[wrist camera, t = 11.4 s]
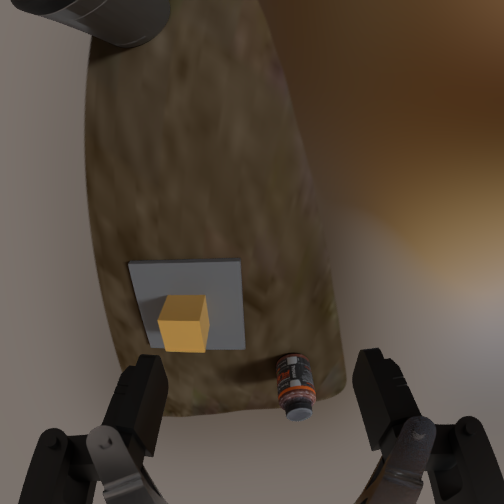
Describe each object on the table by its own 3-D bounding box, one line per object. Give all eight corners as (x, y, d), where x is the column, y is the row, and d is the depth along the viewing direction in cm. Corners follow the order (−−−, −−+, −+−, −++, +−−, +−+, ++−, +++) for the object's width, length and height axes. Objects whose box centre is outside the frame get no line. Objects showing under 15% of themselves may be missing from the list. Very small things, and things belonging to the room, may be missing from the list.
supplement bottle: (281, 349, 48) (288, 402, 37) (314, 354, 48) (325, 405, 38) (271, 371, 50) (274, 423, 40) (301, 375, 51) (310, 425, 41)
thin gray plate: (130, 260, 40) (117, 278, 36) (240, 257, 40) (239, 276, 36) (152, 343, 47) (145, 363, 43) (245, 345, 47) (244, 367, 43)
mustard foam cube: (167, 295, 42) (157, 320, 36) (205, 294, 42) (199, 321, 36) (174, 324, 44) (166, 351, 39) (209, 325, 44) (205, 352, 39)
